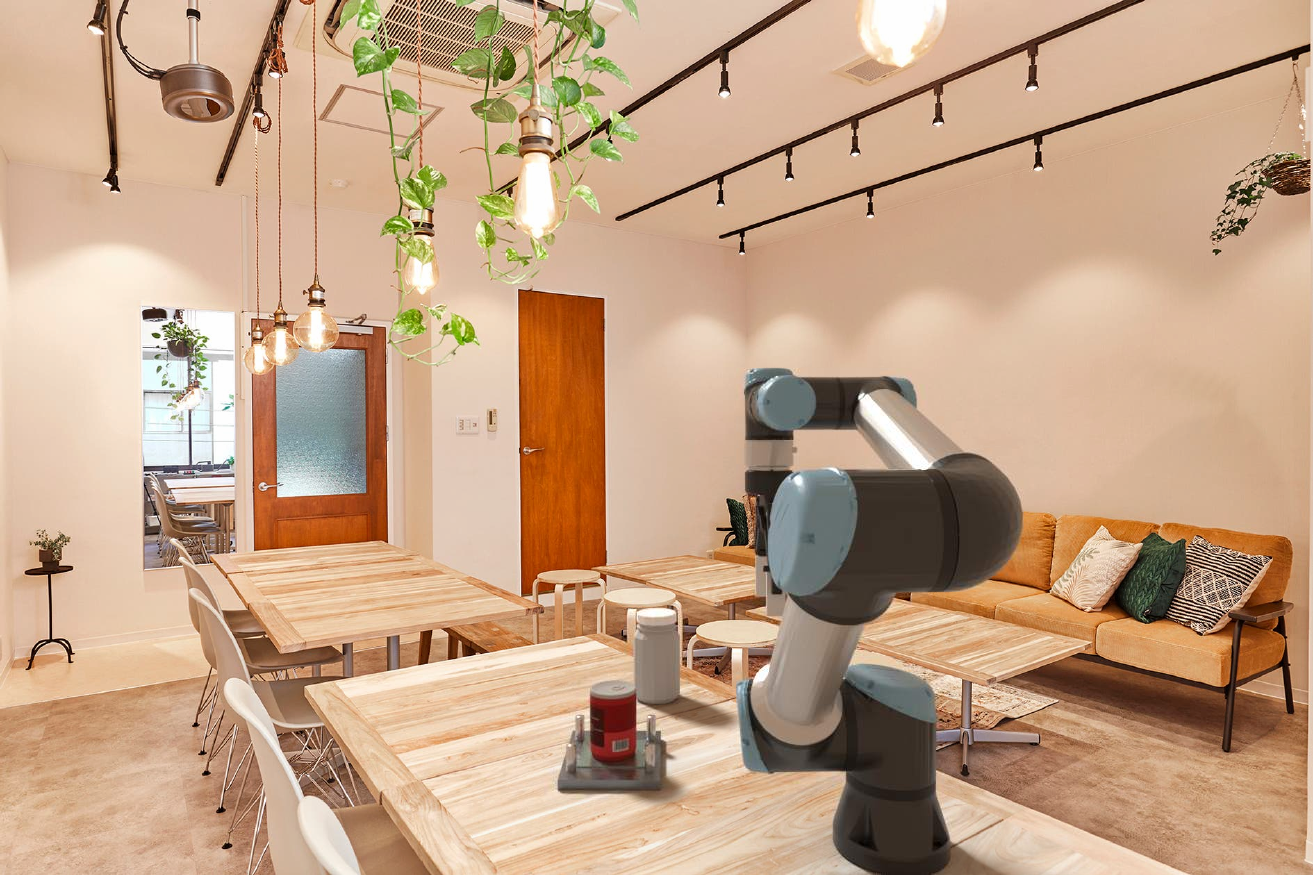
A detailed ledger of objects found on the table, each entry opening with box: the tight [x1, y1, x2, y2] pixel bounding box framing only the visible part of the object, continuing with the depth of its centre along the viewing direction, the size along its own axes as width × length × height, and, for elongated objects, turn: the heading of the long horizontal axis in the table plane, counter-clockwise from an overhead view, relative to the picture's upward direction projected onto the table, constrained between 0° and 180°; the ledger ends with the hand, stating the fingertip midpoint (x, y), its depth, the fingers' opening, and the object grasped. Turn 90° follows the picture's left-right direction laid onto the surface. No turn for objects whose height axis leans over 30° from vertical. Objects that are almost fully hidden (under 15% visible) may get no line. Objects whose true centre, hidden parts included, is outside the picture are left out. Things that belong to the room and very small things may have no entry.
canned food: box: [589, 679, 638, 761], centre depth 130 cm, size 8×8×11 cm
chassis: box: [557, 714, 662, 791], centre depth 130 cm, size 20×16×6 cm
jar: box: [633, 607, 681, 705], centre depth 162 cm, size 10×10×18 cm
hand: (769, 605), depth 120 cm, fingers open, 13 cm apart
